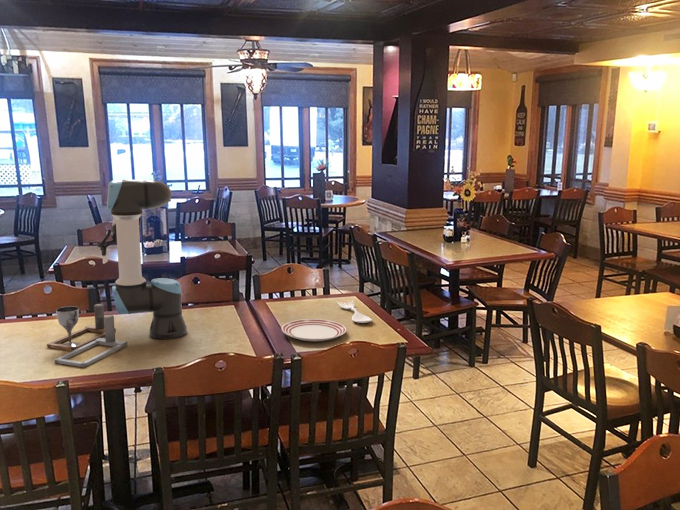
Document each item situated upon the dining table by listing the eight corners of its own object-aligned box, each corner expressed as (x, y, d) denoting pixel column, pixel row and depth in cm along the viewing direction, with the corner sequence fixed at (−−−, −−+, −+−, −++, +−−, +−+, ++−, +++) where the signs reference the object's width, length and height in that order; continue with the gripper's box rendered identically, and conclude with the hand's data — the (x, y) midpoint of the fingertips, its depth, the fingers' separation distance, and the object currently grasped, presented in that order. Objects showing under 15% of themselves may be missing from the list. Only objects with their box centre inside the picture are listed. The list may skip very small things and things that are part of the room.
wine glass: (67, 350, 225) (63, 313, 222) (55, 346, 229) (51, 309, 226) (85, 344, 231) (82, 308, 228) (73, 340, 236) (70, 304, 233)
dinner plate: (316, 320, 267) (316, 313, 266) (359, 335, 248) (359, 328, 247) (268, 334, 248) (268, 326, 247) (311, 351, 229) (311, 343, 228)
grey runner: (127, 344, 231) (125, 317, 229) (84, 367, 208) (81, 336, 206) (100, 341, 235) (98, 313, 233) (54, 362, 212) (51, 332, 210)
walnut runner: (116, 331, 246) (114, 305, 244) (74, 351, 224) (72, 322, 221) (90, 328, 250) (88, 302, 248) (47, 347, 227) (44, 318, 225)
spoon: (353, 305, 291) (353, 299, 291) (375, 325, 262) (375, 318, 261) (335, 306, 289) (335, 300, 288) (356, 327, 259) (356, 319, 258)
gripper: (139, 239, 278) (138, 278, 267) (91, 220, 260) (88, 261, 249) (149, 232, 274) (148, 271, 264) (100, 213, 256) (98, 254, 246)
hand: (119, 267), depth 257 cm, fingers open, 13 cm apart
